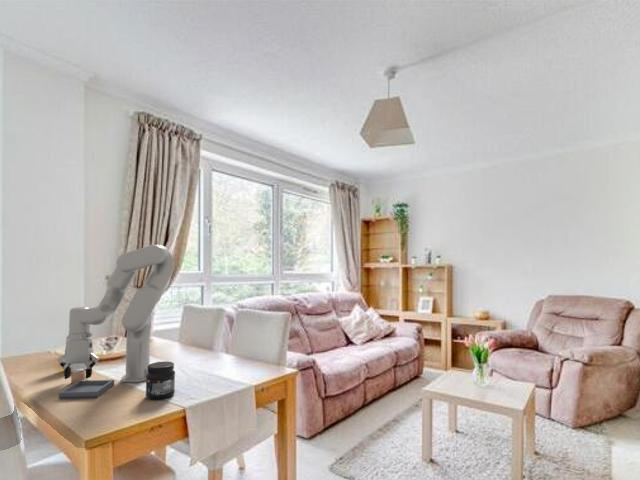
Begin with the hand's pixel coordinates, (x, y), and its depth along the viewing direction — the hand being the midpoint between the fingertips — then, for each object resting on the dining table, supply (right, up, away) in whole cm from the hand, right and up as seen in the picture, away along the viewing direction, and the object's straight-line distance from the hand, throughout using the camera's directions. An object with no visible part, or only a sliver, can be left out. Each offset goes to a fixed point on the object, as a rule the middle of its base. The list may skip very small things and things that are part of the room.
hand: (78, 377), depth 164 cm
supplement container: (+41, -2, -15) cm, 44 cm away
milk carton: (-12, -3, +19) cm, 23 cm away
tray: (+11, -2, -11) cm, 16 cm away
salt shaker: (0, -2, 0) cm, 2 cm away
